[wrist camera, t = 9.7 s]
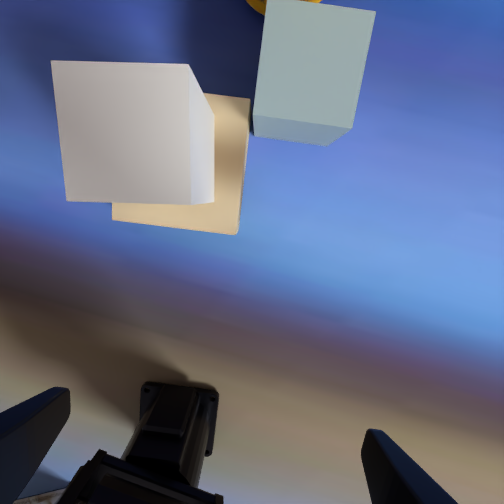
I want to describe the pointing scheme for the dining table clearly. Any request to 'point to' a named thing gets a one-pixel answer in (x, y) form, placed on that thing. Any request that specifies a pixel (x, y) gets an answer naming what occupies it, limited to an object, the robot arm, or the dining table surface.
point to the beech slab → (225, 177)
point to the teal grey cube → (310, 70)
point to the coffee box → (42, 498)
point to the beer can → (259, 4)
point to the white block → (134, 133)
